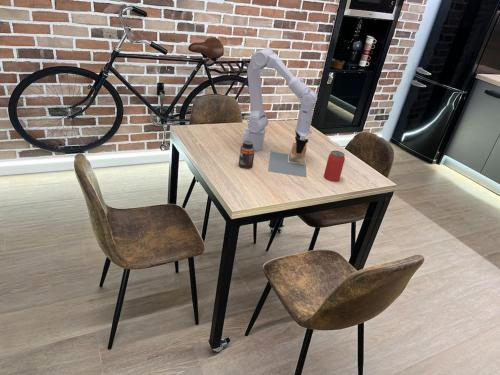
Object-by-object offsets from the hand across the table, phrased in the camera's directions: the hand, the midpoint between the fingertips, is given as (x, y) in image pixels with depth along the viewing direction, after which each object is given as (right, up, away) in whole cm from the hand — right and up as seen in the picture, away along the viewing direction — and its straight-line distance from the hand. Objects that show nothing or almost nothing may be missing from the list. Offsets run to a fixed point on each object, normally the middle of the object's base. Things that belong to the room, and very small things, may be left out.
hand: (298, 149), depth 166 cm
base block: (-1, -4, +2) cm, 5 cm away
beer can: (+12, -14, -9) cm, 20 cm away
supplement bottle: (-23, -8, -9) cm, 26 cm away
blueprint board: (-5, -7, -2) cm, 9 cm away
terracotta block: (0, -2, +1) cm, 2 cm away
